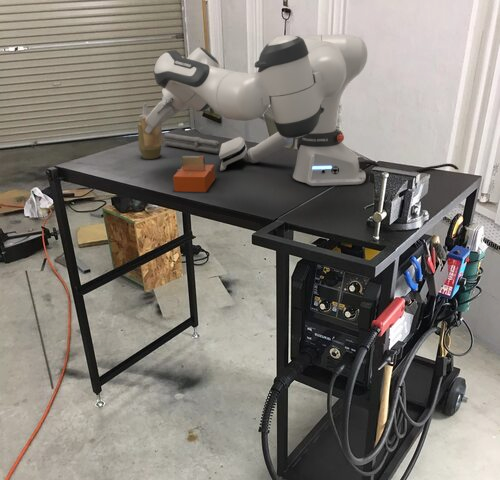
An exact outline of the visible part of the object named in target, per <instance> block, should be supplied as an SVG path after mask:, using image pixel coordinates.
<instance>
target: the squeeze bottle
mask: <svg viewBox="0 0 500 480" xmlns="http://www.w3.org/2000/svg"><path fill="white" fill-rule="evenodd" d="M141 112H142V113H141V114H140V115H139V121H138V123H137V138H138V150H139V152H140V154H141V156H142V158H143V159H145V160H154V159H158V158H160V156H161V152H162V151H161V150H162V144H161V145H160V146H145V143H144V135H143V128H142V120H141V118H143V117H145V116H146V115H149V114H150V113H151V112H150V110H149V108H148V105H147V103H143V104H142V111H141Z"/></svg>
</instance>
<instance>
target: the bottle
mask: <svg viewBox="0 0 500 480" xmlns="http://www.w3.org/2000/svg"><path fill="white" fill-rule="evenodd" d="M293 141H294V138H286V137H283V136H281V135H280V134H279V132H278V131H276V132H275V133H274V134H272V135H270V136H269V137H267V138H266V139H264V140H262V141H261V142H259V143H257V144H256V145H255V146H252V147H250V148H248V149H247V153H246V158H247V159H248V161H249V162H250V163H251V164H257V163H259V162H261V160H262V159H264V158H267V157H268V156H270V155H272V154H273V153H275V152H277V151H279V150H281V149H283V148H285V147H286V146H288V145H290V144H292V143H293Z"/></svg>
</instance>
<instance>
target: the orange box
mask: <svg viewBox="0 0 500 480" xmlns="http://www.w3.org/2000/svg"><path fill="white" fill-rule="evenodd" d="M215 170H216V169H215V164H205V171H183V166H181V168H180V169H179V168H178V169H176V173H175V174H174V175H173V177H172V178H173V187H174V192H179V193H180V192H183V193H184V192H186V193H191V192H192V193H206V192H207V191H208V190H209V189H210V187H211V186H212V184H213V183H214V181H216V171H215Z"/></svg>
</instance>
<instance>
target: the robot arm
mask: <svg viewBox="0 0 500 480" xmlns="http://www.w3.org/2000/svg"><path fill="white" fill-rule="evenodd" d="M367 61H368V48H367V45H366V42H365V41H364V39H363V38H362V37H360V36H356V35H352V34H345V33H336V34H334V33H333V34H303V35H301V34H300V35H299V34H298V35H291V34H283V35H279V36H278V37H276V38H274V39H272V40H271V41H269V42H268V43H267V44H266V45H265V46H264V47H263V49H262V51H261V52H260V54H259V57H258V60H257V61H255V62H254V66H253V67H254V68H255V69H257V71H256V72H254V73H249V72H244V71H237V70H230V69H225V68H222V67H221V68H220V67H219V66H220V63H219V60H217V58H216V56H215V57H214V55H213V54H211V52H209V51H208V50H207V49H206V48H203V47H200V46H198V47H196V48H195V49H194V50H193V51H192V52H191V53H190V54H189V55H188V56H187V57H184V56H183V55H182V54H181V53H180V52H179V51H178V50H177V49H176V50H174V49H172V50H171V49H170V50H167V51H164V52H162V53H161V54H160V56H159V57H158V58H157V59H156V61H155V64H154V66H153V76H154V79H155V82H156V85H158V86H160V87H162V90H161V93H162V97H161V100H160V101H159V102H158V103H157V104H156V105H155V106H154V107H153V109H152V110H151V111H150V112H149V113H150V114H149V115H148V116H147V118H146V119H145V122H146V123H147V124H148V126H147V127H146V129H145V131H146V132H147V133H148V134H149V133H151V132H152V130H153V129H154V128H156V127H157V126H159V125H160V124H161V125H162V124H164V123H165V122H167V121H169V120H170V119H172V118H173V117H174V116H176V115H177V114H178V113H179V112H185V111H186V110H187V109H188V108H191V109H192V110H194V111H196V112H203V111H206V110H208V109H210V108H212V110H214V111H215V112H216V113H217V114H219V115H220V116H222V117H224V118H226V119H229V120H232V121H239V122H243V121H244V122H246V121H248V122H249V121H252V120H257V119H259V118H261V117H262V116H263V115H264V114H265V113H266V111H267V110H268V109H269V106H270V109H271V112H272V115H273V118H274V125H275V128H276V130H277V132H279V134H280V135H281V136H283V137H286V138H293V139H296V149H297V154H296V155H297V156H296V160H295V167H294V170H293V173H292V178H293V179H294V180H295V181H297V182H301V183H304V184H307V185H309V186H310V187H327V186H348V185H349V186H351V185H353V186H354V185H361V184H364V183H365V181H366V179H367V174H366V171H364V170H365V169H368V168H367V167H368V165H371V166H374V167H376V166H380V165H379V164H378V163H376V162H374V161H367V160H366V158H364V157H363V156H359V157H358V156H357V154H356V153H355V152H354V151H353V150H351V148H349V147H348V146H346V145H345V143H343V141H344V139H345V135H344V133H343V131H342V130H340V129H337V123H338V122H337V120H338V113H339V105H340V102H341V98H342V95H343V93H344V91H345V90H346V88H347V86H348V85H349V84H350V83H351V82H352V81H353V80H354V79H355V78H356V77H357V76H359V75H360V74H361V73H362V72H363V70H364V68H365V67H366V64H367ZM445 167H451V168H452V169H454V170H456V171H458V170H459V168H458V166H457V165H456V164H453V163H442V164H438V165H437V164H436V165H430V166H425V167H421V168H418V169H414V170H415V171H417V173H420V172H424V171H427V170H436V169H441V168H445Z"/></svg>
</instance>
